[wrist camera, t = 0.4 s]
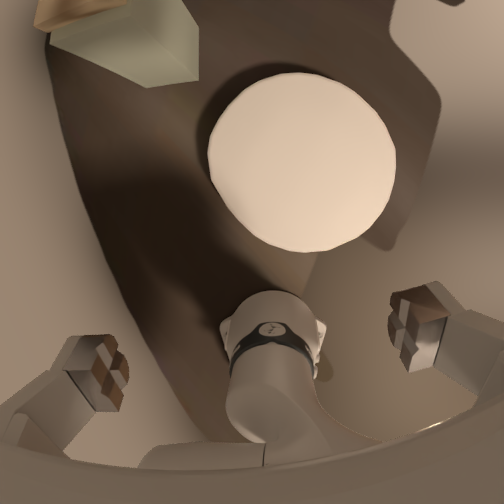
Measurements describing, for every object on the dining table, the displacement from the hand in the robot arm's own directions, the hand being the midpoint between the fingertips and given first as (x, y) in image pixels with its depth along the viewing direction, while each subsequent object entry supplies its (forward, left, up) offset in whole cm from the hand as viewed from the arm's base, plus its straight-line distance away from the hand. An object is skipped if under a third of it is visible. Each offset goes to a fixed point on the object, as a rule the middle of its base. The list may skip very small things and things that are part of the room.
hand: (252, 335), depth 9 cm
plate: (+5, -5, -42) cm, 43 cm away
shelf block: (+24, +15, -42) cm, 50 cm away
